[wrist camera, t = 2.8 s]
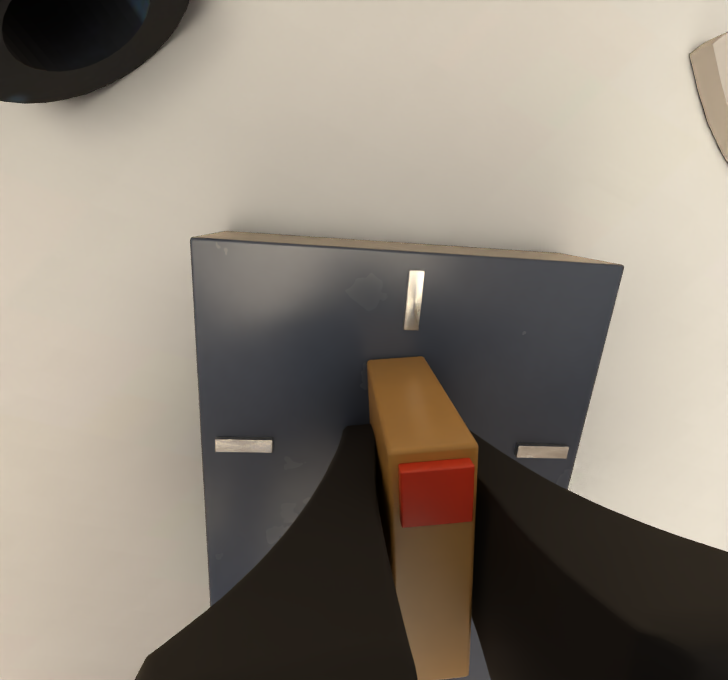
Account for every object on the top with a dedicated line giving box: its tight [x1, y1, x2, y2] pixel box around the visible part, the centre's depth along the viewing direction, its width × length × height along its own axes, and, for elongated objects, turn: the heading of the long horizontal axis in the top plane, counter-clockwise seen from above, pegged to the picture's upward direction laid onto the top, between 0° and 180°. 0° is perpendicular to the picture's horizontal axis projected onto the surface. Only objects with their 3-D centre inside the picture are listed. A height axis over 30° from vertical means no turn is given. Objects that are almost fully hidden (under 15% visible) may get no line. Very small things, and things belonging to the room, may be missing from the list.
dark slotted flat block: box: [190, 231, 624, 680], centre depth 13 cm, size 14×10×3 cm
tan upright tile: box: [367, 356, 478, 680], centre depth 9 cm, size 5×1×4 cm, turn 3°
